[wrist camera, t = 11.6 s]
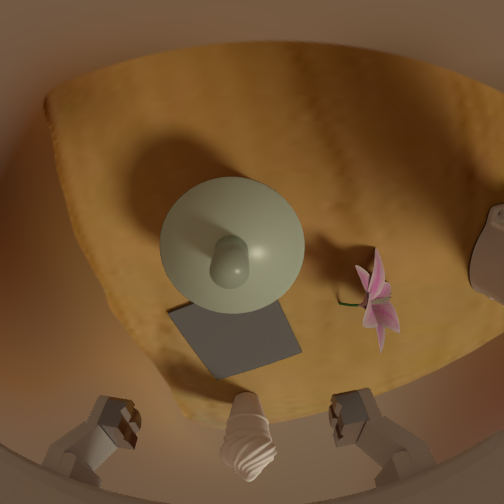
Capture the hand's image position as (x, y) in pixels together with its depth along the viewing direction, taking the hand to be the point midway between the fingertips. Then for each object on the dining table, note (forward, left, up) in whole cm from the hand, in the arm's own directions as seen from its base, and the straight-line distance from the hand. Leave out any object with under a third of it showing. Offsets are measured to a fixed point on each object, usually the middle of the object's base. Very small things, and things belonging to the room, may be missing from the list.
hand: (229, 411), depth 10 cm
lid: (0, -1, -17) cm, 17 cm away
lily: (-12, +14, -24) cm, 31 cm away
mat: (+6, +13, -24) cm, 28 cm away
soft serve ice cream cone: (+11, +27, -24) cm, 38 cm away
